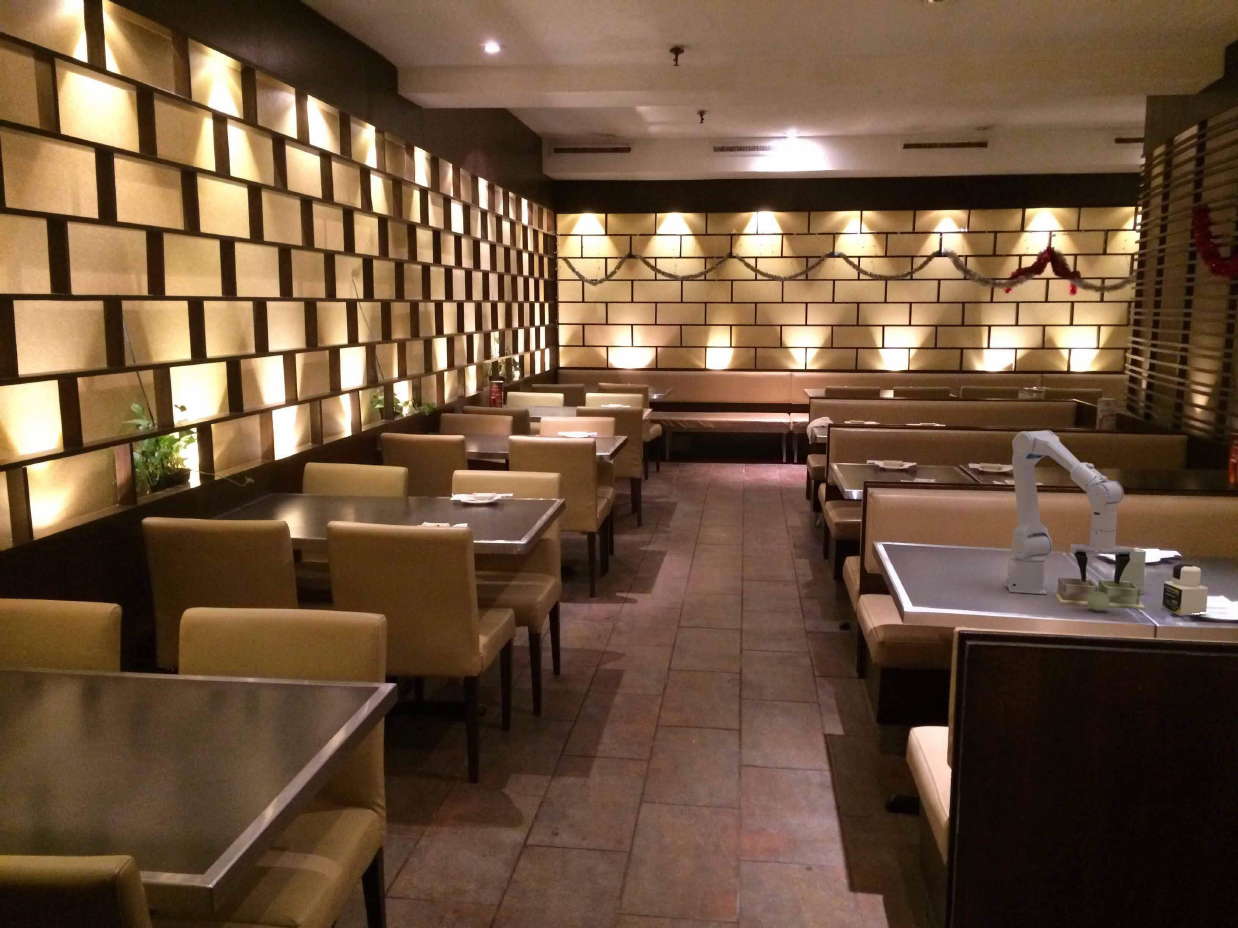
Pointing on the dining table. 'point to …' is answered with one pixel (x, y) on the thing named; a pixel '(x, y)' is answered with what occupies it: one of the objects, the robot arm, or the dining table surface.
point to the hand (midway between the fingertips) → (1099, 581)
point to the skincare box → (1135, 569)
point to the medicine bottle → (1185, 591)
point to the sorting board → (1079, 591)
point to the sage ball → (1098, 601)
